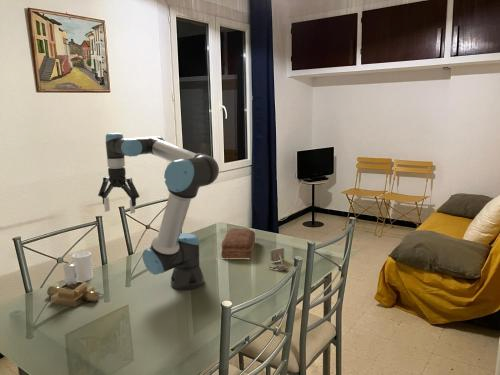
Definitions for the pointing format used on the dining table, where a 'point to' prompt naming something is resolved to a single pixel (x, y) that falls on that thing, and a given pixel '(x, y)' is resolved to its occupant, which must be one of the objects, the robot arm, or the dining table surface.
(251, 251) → the bread
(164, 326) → the dining table surface
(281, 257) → the decorative sculpture
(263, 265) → the dining table surface
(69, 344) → the dining table surface
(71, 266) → the pipe stub
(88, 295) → the valve body
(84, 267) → the mug
